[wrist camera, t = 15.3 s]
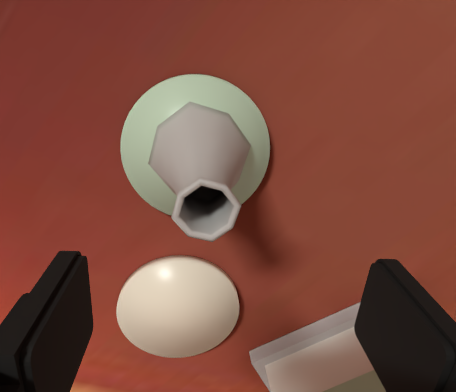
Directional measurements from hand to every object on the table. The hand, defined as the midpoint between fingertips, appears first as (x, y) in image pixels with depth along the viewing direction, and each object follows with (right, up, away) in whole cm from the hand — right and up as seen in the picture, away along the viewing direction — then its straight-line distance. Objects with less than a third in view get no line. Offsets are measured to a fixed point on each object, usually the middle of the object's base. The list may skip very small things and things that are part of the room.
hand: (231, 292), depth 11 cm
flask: (-2, +6, +14) cm, 16 cm away
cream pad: (-5, -7, +21) cm, 23 cm away
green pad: (-2, +7, +15) cm, 17 cm away
